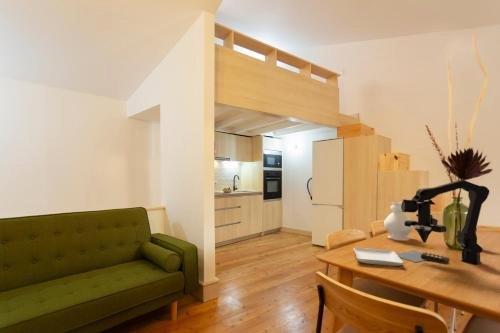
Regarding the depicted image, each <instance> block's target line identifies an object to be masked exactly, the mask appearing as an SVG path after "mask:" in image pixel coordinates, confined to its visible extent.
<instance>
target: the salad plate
mask: <svg viewBox="0 0 500 333" xmlns="http://www.w3.org/2000/svg"><path fill="white" fill-rule="evenodd" d="M353 251H354V253H355V257H356V260H358V261H359V262H360V263H363V264H368V265H378V266H388V267H389V266H391V267H394V266H396V267H397V266H398V267H399V266H402V265H403V264H404V261H403V259H402V258H399V257H398V255H397V254H398V253H396V252H395V250H390V249H377V248H366V247H365V248H364V247H353Z"/></svg>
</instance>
